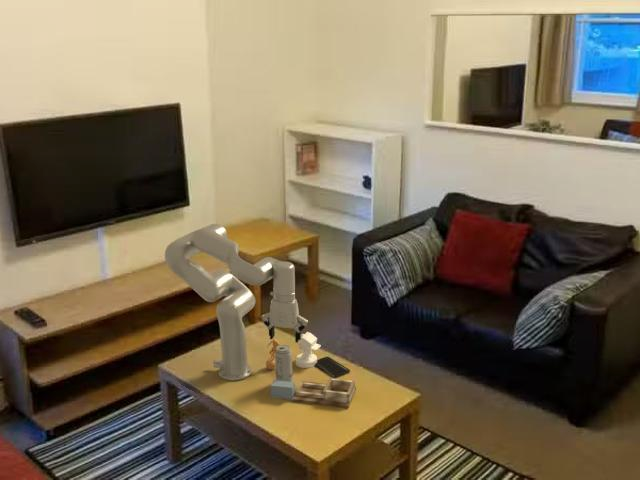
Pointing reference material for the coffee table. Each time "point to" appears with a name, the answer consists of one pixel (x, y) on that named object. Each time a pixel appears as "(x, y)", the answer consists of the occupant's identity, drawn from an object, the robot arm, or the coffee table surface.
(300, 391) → the jig
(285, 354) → the energy drink can
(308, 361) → the character figurine
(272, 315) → the robot arm
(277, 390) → the wing block
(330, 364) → the phone
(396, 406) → the coffee table surface
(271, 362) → the figurine
